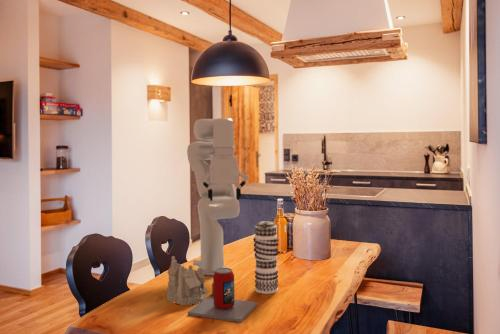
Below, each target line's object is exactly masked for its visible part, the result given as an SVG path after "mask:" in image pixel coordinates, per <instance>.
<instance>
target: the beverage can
mask: <svg viewBox="0 0 500 334" xmlns="http://www.w3.org/2000/svg"><path fill="white" fill-rule="evenodd" d="M212 277H213V278H212V279H213V281H212V282H213V290H214V306H215V307H217V308H218V309H229V308H231V307H232V306H234V304H235V300H236V299H235V298H236V297H235V273H234V272H233V269H232V268H230V267H227V268H219V269H216V270H215V273H214V275H212Z"/></svg>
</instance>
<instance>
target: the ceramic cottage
mask: <svg viewBox="0 0 500 334" xmlns="http://www.w3.org/2000/svg"><path fill="white" fill-rule="evenodd" d="M177 262H178V261H177V259H176V256H174V255H173V256H171V262H170V266H169V268H168V270H167V274H168V281H167V287H168V288H167V292H166V297H167V299H168V300H171V301H173V302H175V303H177V304H180V305H191V306H193V305H192V304H195V305H197V304H196V303H198V304H199V302H202V301H203V300H204V299H206V295H207V293H208V290H207V288H206V287H205V275H203V273H202V271H201V270H195V269H193V264H192V265H191V264H190V265H188V269H187V267H185V266H184V265H181V264H180V263H177ZM167 299H166V300H167ZM168 300H167V301H168ZM171 301H170V302H171ZM173 302H172V303H173ZM175 303H174V304H175ZM177 304H176V305H177ZM180 305H179V306H180Z"/></svg>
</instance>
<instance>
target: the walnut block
mask: <svg viewBox="0 0 500 334" xmlns="http://www.w3.org/2000/svg"><path fill="white" fill-rule="evenodd" d="M211 297H214V290H213V281H212V282H211Z"/></svg>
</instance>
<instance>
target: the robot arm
mask: <svg viewBox="0 0 500 334" xmlns="http://www.w3.org/2000/svg"><path fill="white" fill-rule="evenodd" d="M234 130H235V125H234V120H233V119H232V118H227V117H225V118H223V117H221V118H219V117H218V118H199V119H196V120H195V121H194V124H193V134H194V137H195V140H198V141H193V142H191V143H189V144H188V146H187V150H186V154H187V160H188V163H189V166H190V169H192V171H193V173H194V177H195V180H196V187H197V192H198V194H199V196H200V197H201V198H200V199H199V200H198V202H197V212H198V218H199V231H200V232H199V234H200V260H199V259H194V260H192V266H195V267H196V266H197V267H198V268H197V270H201V271H202V273H203V275H204V276H213V275H214V273H215V270H216V269H219V268H228V267H227V266H226V265H225V264H224V256H225V255H224V229H223V226H222V225H221V224H220V223H219V222H218V220H222V219H234V218H237V217H238V216H239V215H240V211H241V210H240V209H241V208H240V198H241V197H242V195H241V194H242V192H241V191H242V190H241V189H242V188H243V187H244V185H246V183H247V181H248V179H249V177H248V175H245V174H243V173H242V172H239V165H238V163H239V162H238V159H237V156H236V155H235V131H234ZM205 160H206V161H210V163H207V162H206V161H205ZM240 177H241V178H242V181H241V182H240V183H239V181H240V180H239V178H240ZM197 270H196V271H197Z"/></svg>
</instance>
